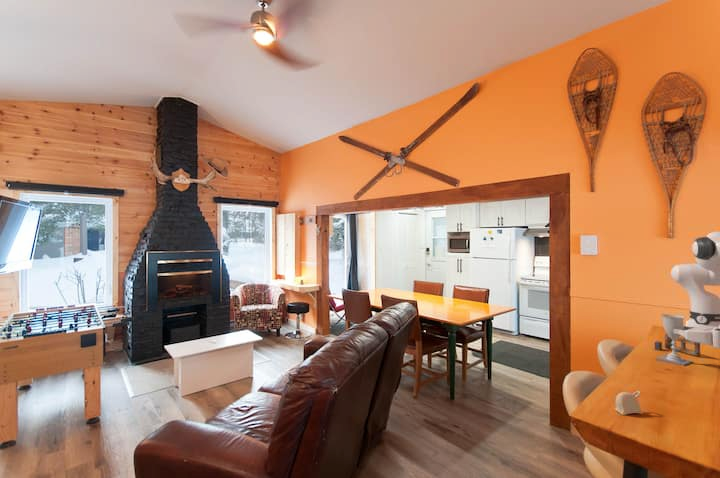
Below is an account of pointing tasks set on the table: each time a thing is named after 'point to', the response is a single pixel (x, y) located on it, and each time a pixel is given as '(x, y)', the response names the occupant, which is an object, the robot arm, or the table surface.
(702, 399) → the table surface
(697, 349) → the gate leaf
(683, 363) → the coaster
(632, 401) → the decorative ornament
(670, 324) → the chalice
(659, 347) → the latch block
